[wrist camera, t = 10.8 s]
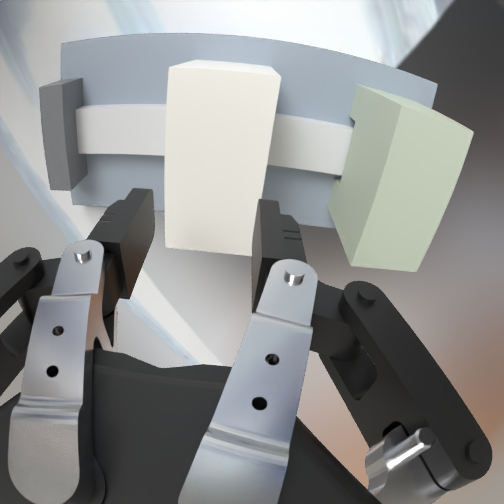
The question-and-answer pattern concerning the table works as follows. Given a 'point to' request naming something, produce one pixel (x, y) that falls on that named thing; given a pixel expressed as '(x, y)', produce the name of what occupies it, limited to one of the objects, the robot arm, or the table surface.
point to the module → (216, 153)
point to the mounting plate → (282, 141)
